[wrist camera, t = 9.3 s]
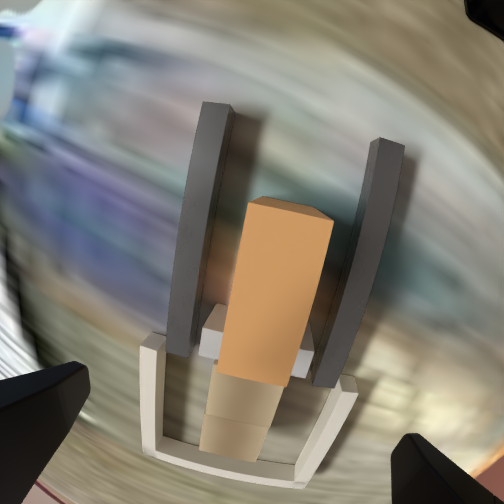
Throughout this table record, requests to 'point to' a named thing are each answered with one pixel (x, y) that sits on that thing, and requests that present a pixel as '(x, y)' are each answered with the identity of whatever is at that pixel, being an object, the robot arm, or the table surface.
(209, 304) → the table surface
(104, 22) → the table surface
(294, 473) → the tray
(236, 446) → the tan wooden cube
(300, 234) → the tan rectangular block
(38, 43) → the table surface
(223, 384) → the beige cube
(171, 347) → the slot rails
